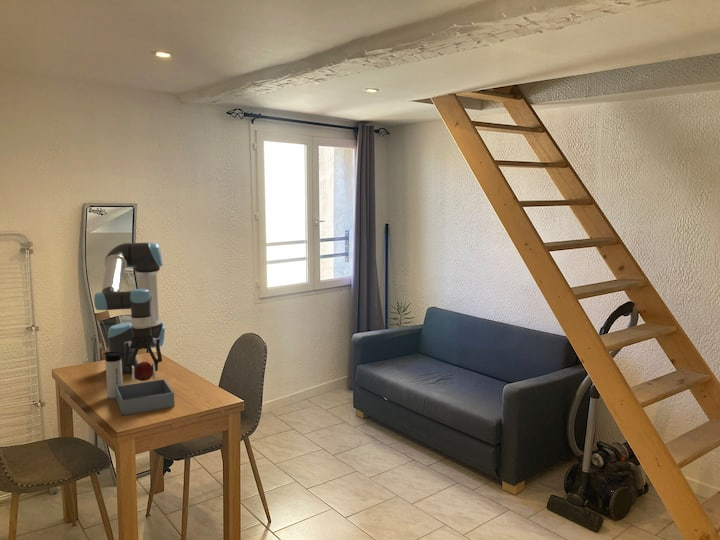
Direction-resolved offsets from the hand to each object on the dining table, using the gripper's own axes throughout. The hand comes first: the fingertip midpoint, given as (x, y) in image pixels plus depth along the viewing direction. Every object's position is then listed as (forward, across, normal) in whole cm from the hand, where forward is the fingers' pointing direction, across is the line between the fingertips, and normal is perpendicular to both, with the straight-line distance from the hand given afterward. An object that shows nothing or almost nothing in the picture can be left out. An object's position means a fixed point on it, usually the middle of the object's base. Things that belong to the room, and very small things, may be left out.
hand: (143, 380), depth 231 cm
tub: (+10, 0, 0) cm, 10 cm away
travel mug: (+10, -10, +14) cm, 20 cm away
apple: (0, 0, 0) cm, 0 cm away
